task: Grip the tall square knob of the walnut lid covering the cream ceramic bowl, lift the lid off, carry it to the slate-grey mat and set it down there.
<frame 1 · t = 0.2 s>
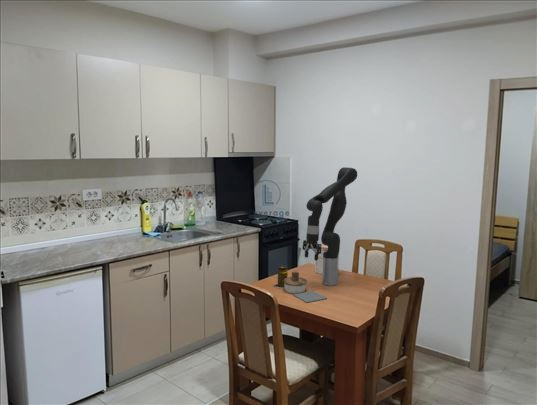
hand: (311, 258, 260), 18 cm above the table, tool pointing down, fingers open, 8 cm apart
lid: (295, 282, 254), point 5 cm above the table, touching bowl
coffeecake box: (326, 274, 291), on the table
mat: (309, 297, 244), on the table
condiment: (281, 286, 263), on the table
bowl: (294, 290, 255), on the table
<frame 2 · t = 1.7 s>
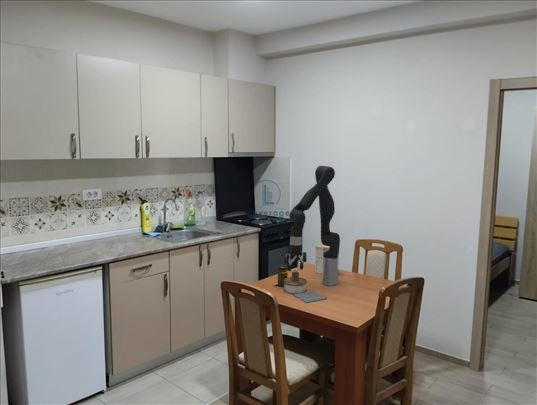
hand: (295, 270, 253), 13 cm above the table, tool pointing down, fingers open, 8 cm apart
nothing on the table moved.
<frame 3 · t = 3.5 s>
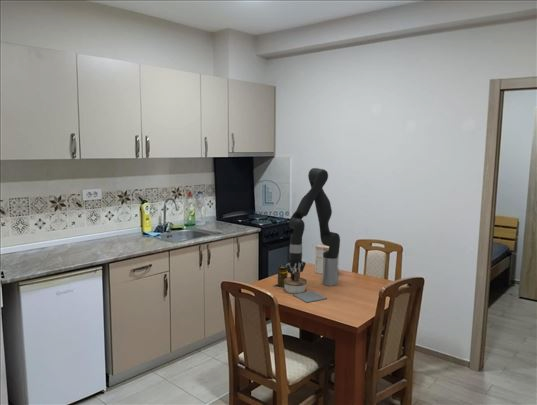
hand: (295, 279, 254), 7 cm above the table, tool pointing down, fingers closed on lid, 3 cm apart
lid: (295, 282, 254), point 5 cm above the table, touching bowl, gripper
everything else where it was.
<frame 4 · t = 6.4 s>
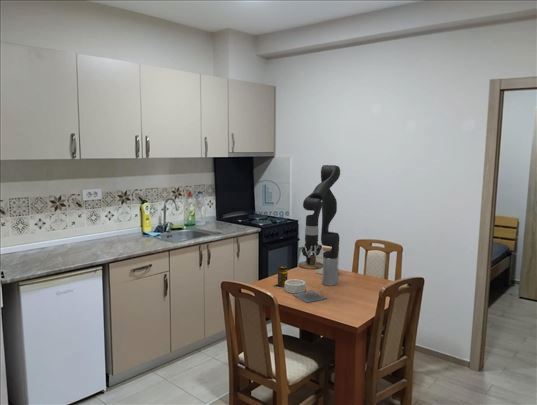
hand: (310, 263, 241), 20 cm above the table, tool pointing down, fingers closed on lid, 3 cm apart
lid: (310, 266, 241), point 18 cm above the table, touching gripper
everything else where it was.
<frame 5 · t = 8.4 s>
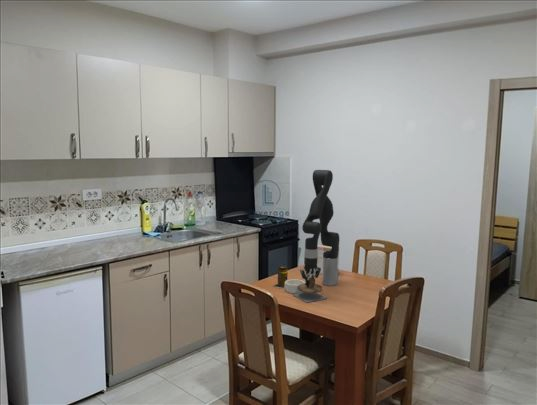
hand: (310, 285, 243), 7 cm above the table, tool pointing down, fingers closed on lid, 3 cm apart
lid: (310, 288, 243), point 5 cm above the table, touching gripper
everything else where it was.
when the fingers open (4 cm above the table, at t = 9.8 s): lid drops 2 cm, resting on mat.
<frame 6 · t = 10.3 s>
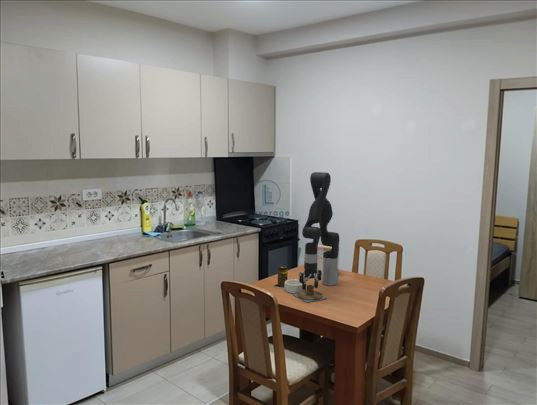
hand: (310, 288, 243), 5 cm above the table, tool pointing down, fingers open, 7 cm apart
lid: (309, 296, 243), point 1 cm above the table, touching mat
everything else where it was.
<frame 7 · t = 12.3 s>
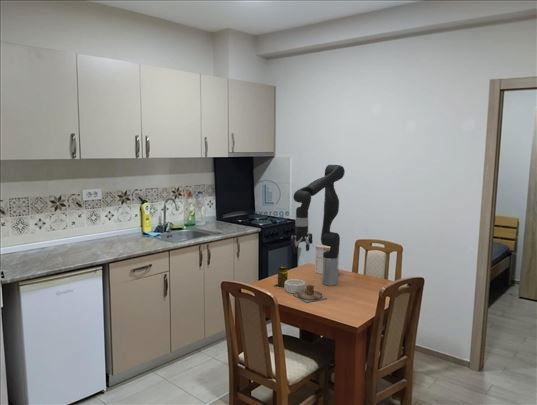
hand: (301, 251, 250), 24 cm above the table, tool pointing down, fingers open, 8 cm apart
nothing on the table moved.
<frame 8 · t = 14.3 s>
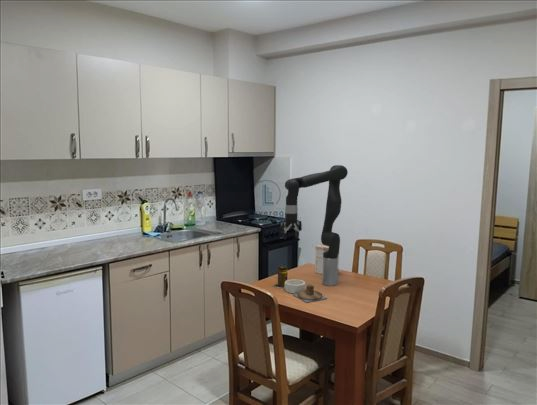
hand: (290, 238, 260), 30 cm above the table, tool pointing down, fingers open, 8 cm apart
nothing on the table moved.
at the end: lid inside the target area on the mat (0.0 cm from its centre), point 0.6 cm above the mat's base; lid touching mat; lid tilted 1° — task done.
